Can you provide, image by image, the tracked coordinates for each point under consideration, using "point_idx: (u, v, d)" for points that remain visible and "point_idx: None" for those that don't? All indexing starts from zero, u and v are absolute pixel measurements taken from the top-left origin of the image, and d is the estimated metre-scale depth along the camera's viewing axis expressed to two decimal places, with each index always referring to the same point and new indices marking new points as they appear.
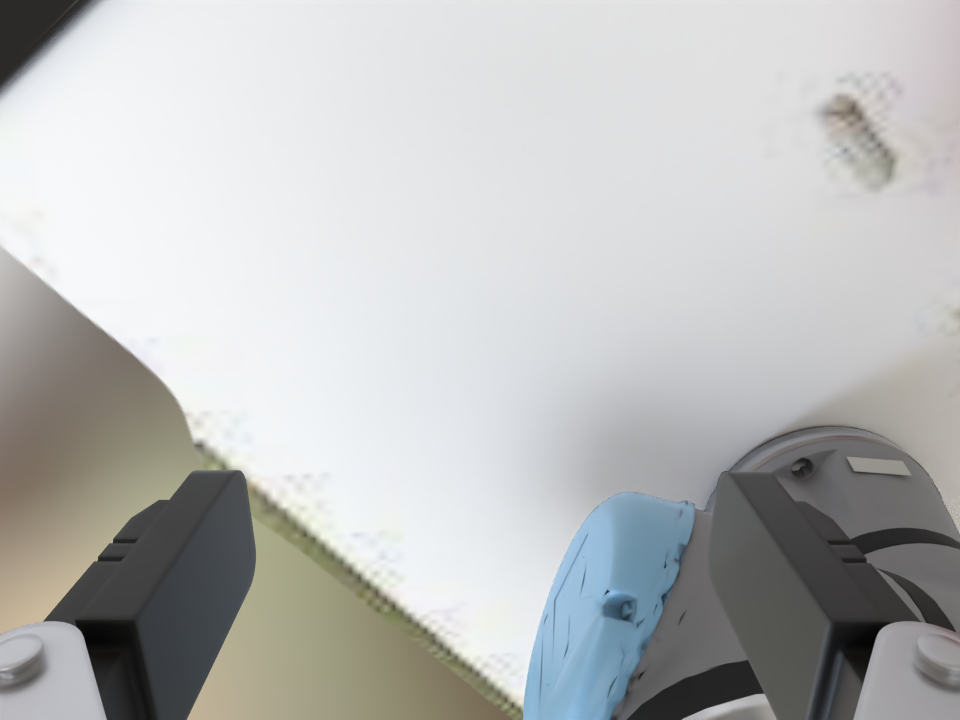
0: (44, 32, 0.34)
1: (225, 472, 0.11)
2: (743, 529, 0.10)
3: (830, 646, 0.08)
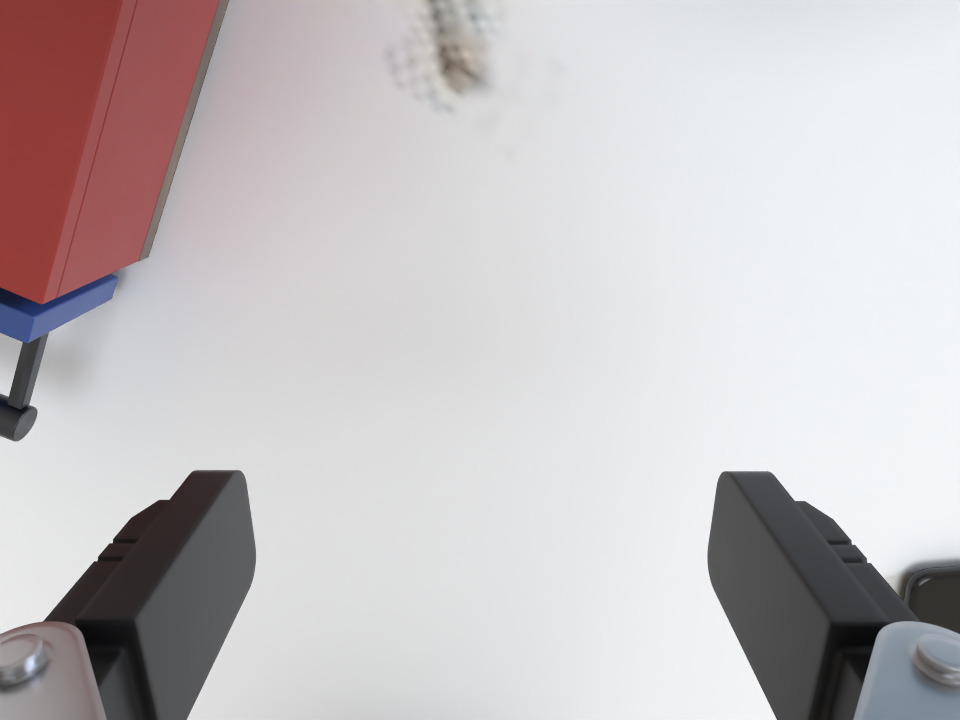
0: None
1: (225, 472, 0.11)
2: (743, 529, 0.10)
3: (830, 646, 0.08)
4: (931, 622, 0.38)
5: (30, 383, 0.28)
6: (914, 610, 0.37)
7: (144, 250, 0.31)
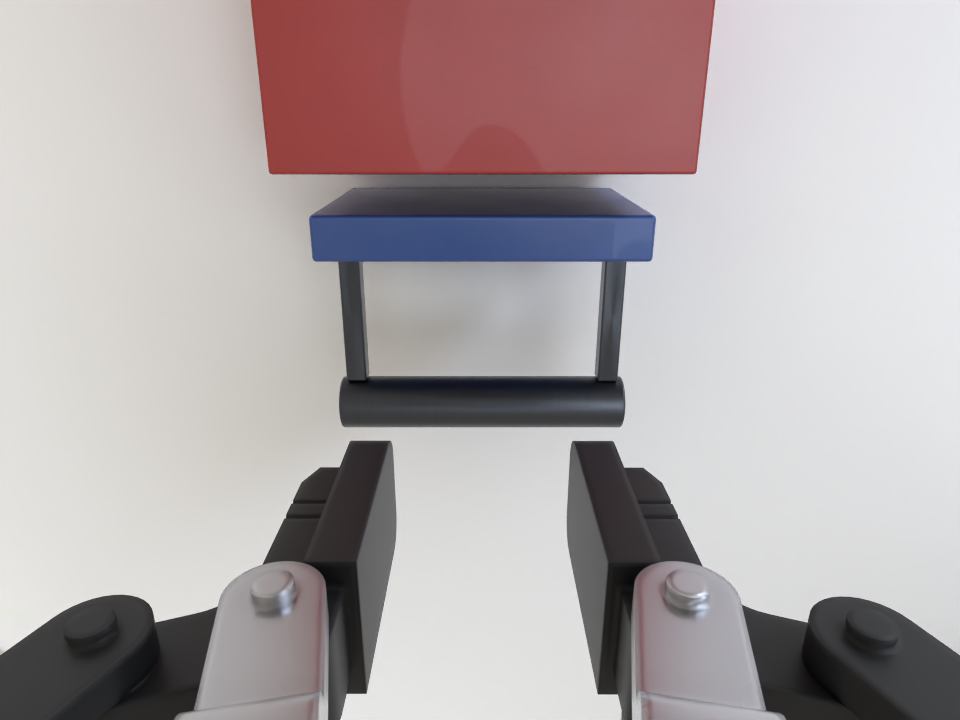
0: None
1: (380, 442, 0.12)
2: (579, 491, 0.11)
3: (612, 585, 0.09)
4: None
5: None
6: None
7: None
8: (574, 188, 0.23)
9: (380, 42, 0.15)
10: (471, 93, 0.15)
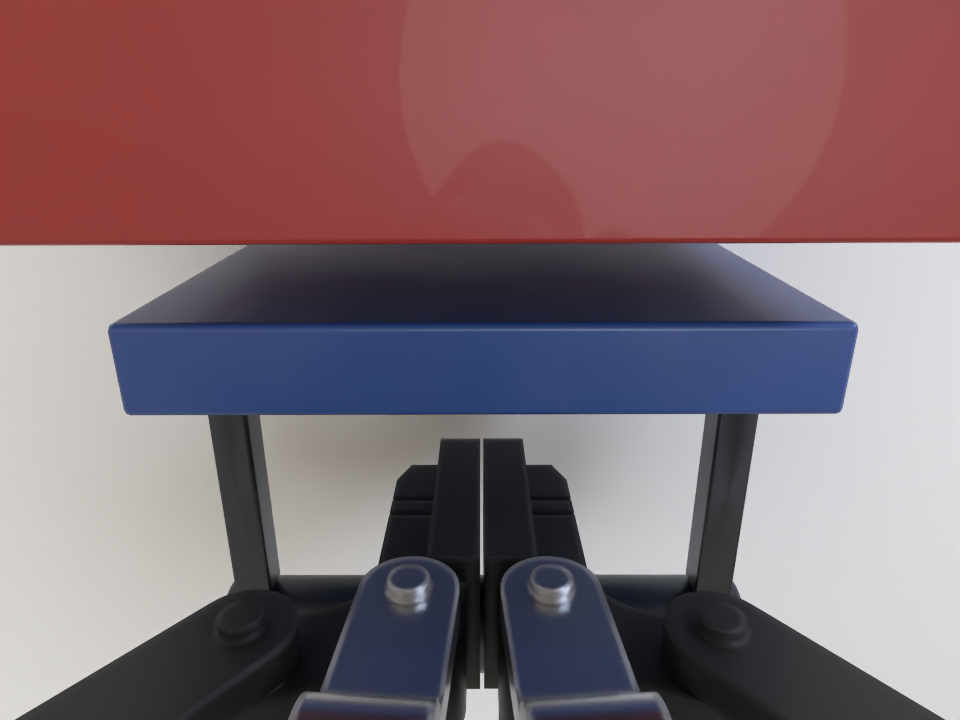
0: None
1: (471, 439, 0.12)
2: None
3: (491, 580, 0.09)
4: None
5: None
6: None
7: None
8: None
9: None
10: (452, 45, 0.06)
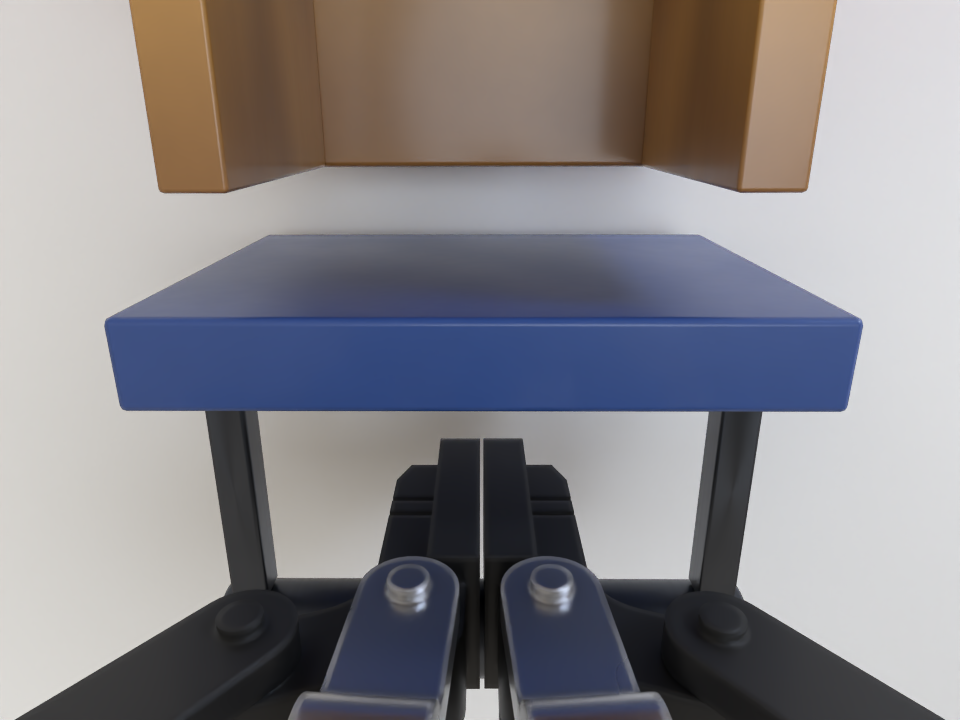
0: None
1: (471, 440, 0.12)
2: None
3: (491, 580, 0.09)
4: None
5: None
6: None
7: None
8: (640, 235, 0.13)
9: None
10: None
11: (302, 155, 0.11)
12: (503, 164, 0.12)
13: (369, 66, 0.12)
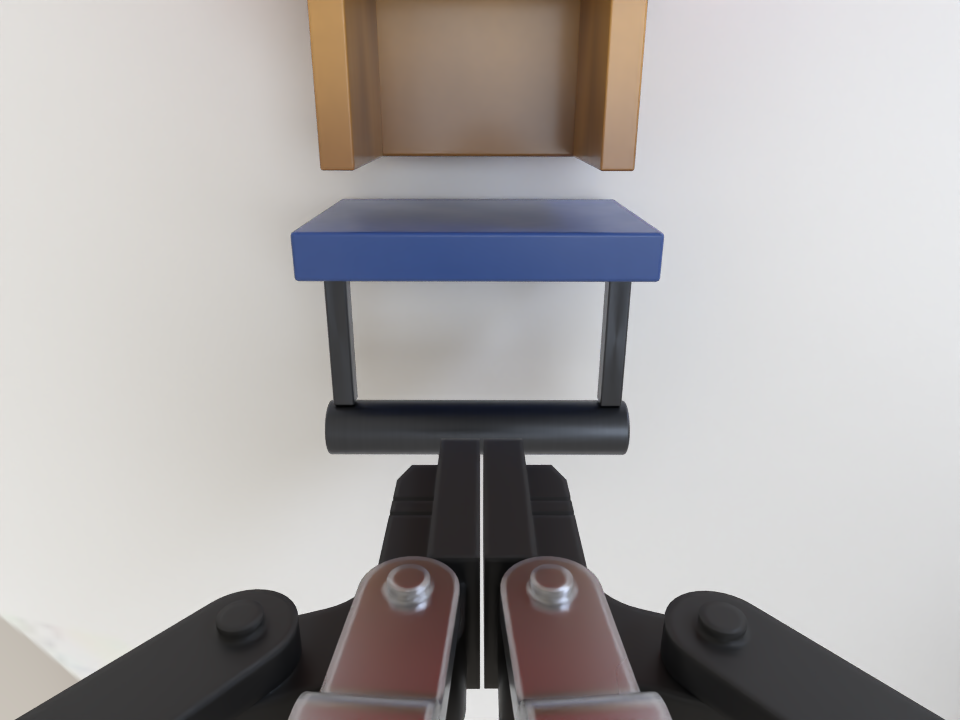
0: None
1: (471, 440, 0.12)
2: None
3: (490, 580, 0.09)
4: None
5: (623, 362, 0.19)
6: None
7: None
8: (575, 200, 0.21)
9: None
10: None
11: (375, 150, 0.19)
12: (490, 155, 0.20)
13: (410, 96, 0.20)
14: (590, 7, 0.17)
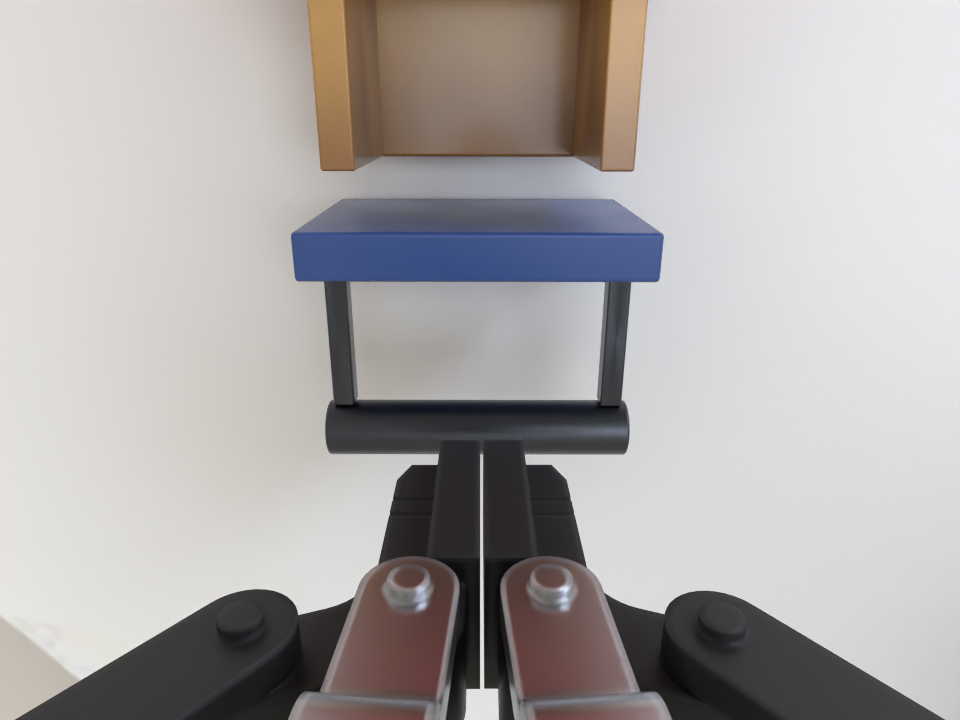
0: None
1: (471, 440, 0.12)
2: None
3: (490, 580, 0.09)
4: None
5: (623, 362, 0.19)
6: None
7: None
8: None
9: None
10: None
11: (375, 150, 0.19)
12: (490, 155, 0.20)
13: (410, 96, 0.20)
14: (590, 7, 0.17)
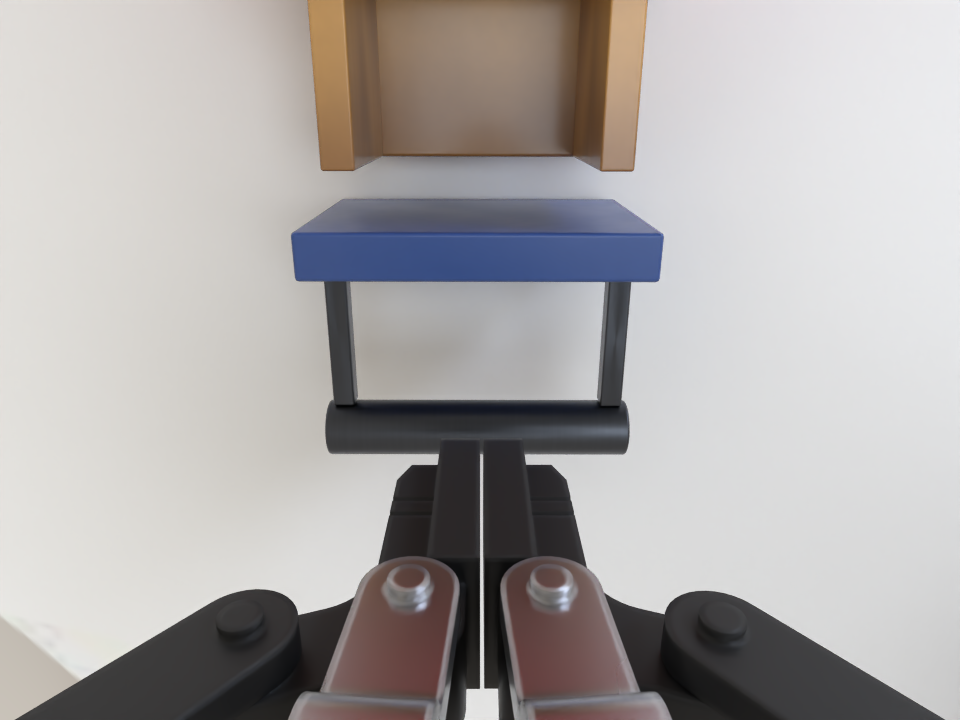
0: None
1: (471, 440, 0.12)
2: None
3: (490, 580, 0.09)
4: None
5: (623, 362, 0.19)
6: None
7: None
8: None
9: None
10: None
11: (375, 150, 0.19)
12: (490, 155, 0.20)
13: (410, 96, 0.20)
14: (590, 7, 0.17)
